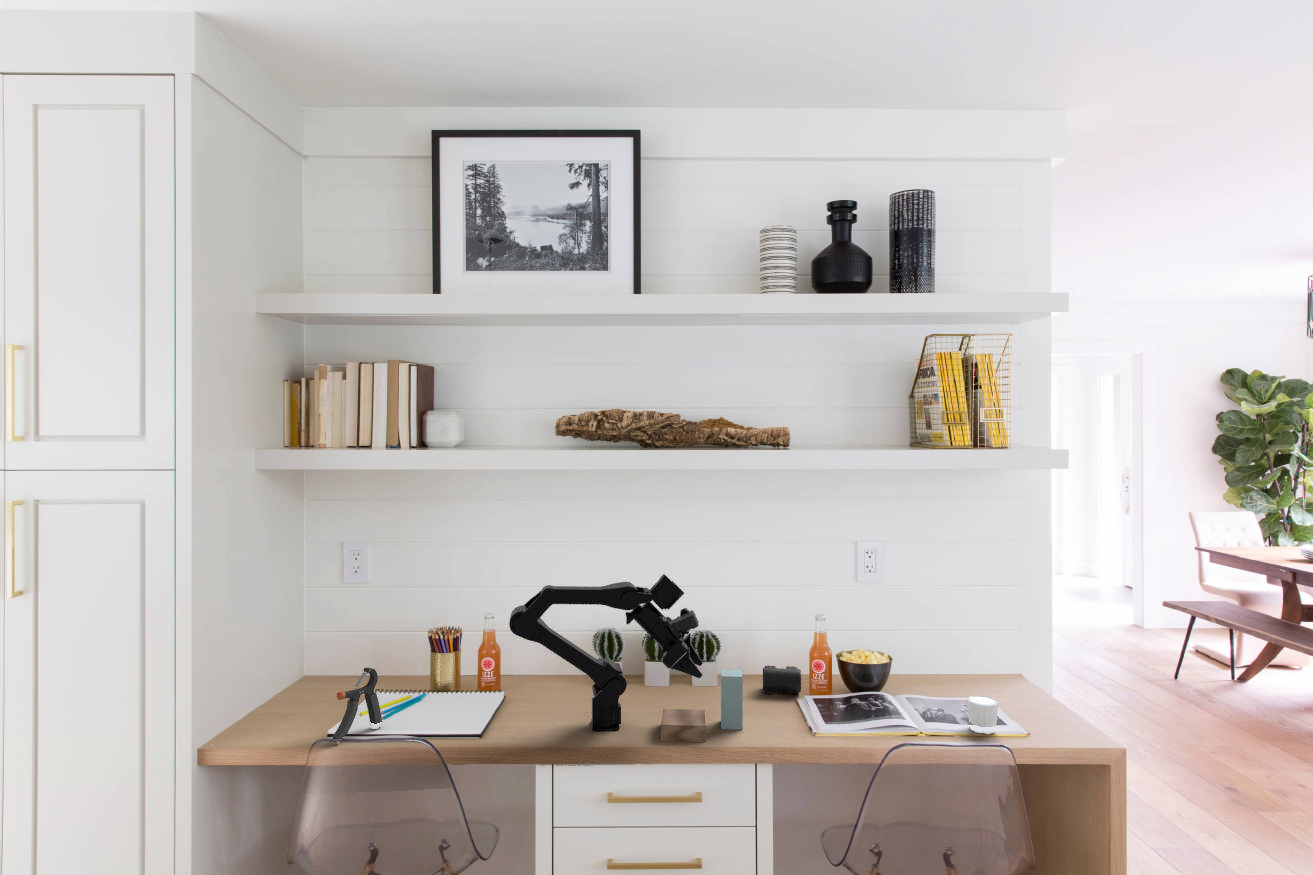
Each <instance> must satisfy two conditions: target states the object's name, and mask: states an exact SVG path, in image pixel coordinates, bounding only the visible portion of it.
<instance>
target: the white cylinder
mask: <svg viewBox="0 0 1313 875" xmlns="http://www.w3.org/2000/svg"><path fill="white" fill-rule="evenodd" d="M966 704H967V715H968V723H969V722H971V723H972V724H974V725H977V726H980V727H993V726H995V725H996V726H997V720H998V719H997V718H998V709H999V701H998V700H996V699H995V698H993V697H989V696H985V695H971V696H967V697H966Z"/></svg>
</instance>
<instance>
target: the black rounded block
mask: <svg viewBox="0 0 1313 875" xmlns="http://www.w3.org/2000/svg"><path fill="white" fill-rule="evenodd" d="M762 691H763V693H765V694H778V695H779V694H780V695H781V694H783V695H799V694H800V693H801V692H802V671H801V669H800V668H798V667H797V666H794V665H793V666H789V665H787V666H786V667H785V668H783V667H782V668H780V667H779V668H778V667H776V665H765V666H764V667H763V668H762Z"/></svg>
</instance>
